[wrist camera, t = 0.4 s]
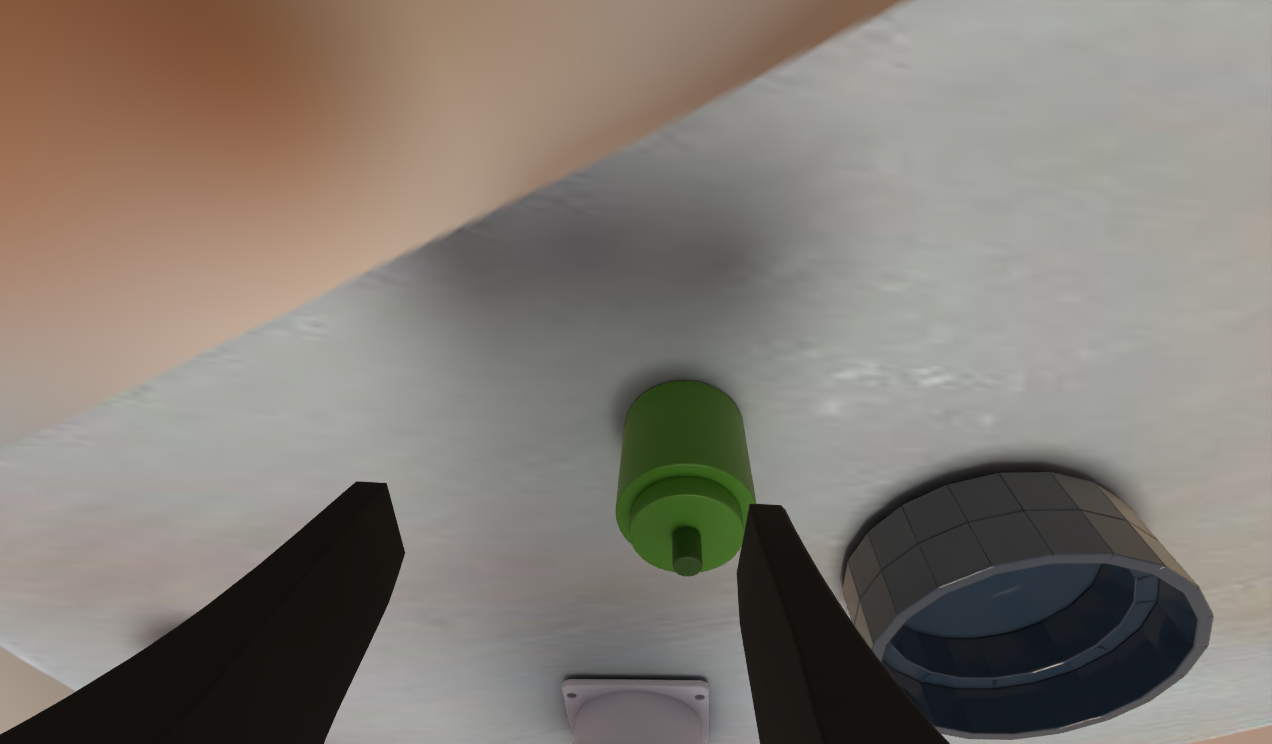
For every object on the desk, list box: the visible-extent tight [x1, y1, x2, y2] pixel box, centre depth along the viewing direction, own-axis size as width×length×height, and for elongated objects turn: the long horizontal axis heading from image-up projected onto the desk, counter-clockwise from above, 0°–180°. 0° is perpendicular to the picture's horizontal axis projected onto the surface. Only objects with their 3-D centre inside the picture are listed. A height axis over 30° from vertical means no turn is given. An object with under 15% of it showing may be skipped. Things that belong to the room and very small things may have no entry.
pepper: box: [616, 381, 756, 576], centre depth 21 cm, size 5×5×7 cm
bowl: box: [843, 472, 1214, 740], centre depth 25 cm, size 12×12×4 cm
